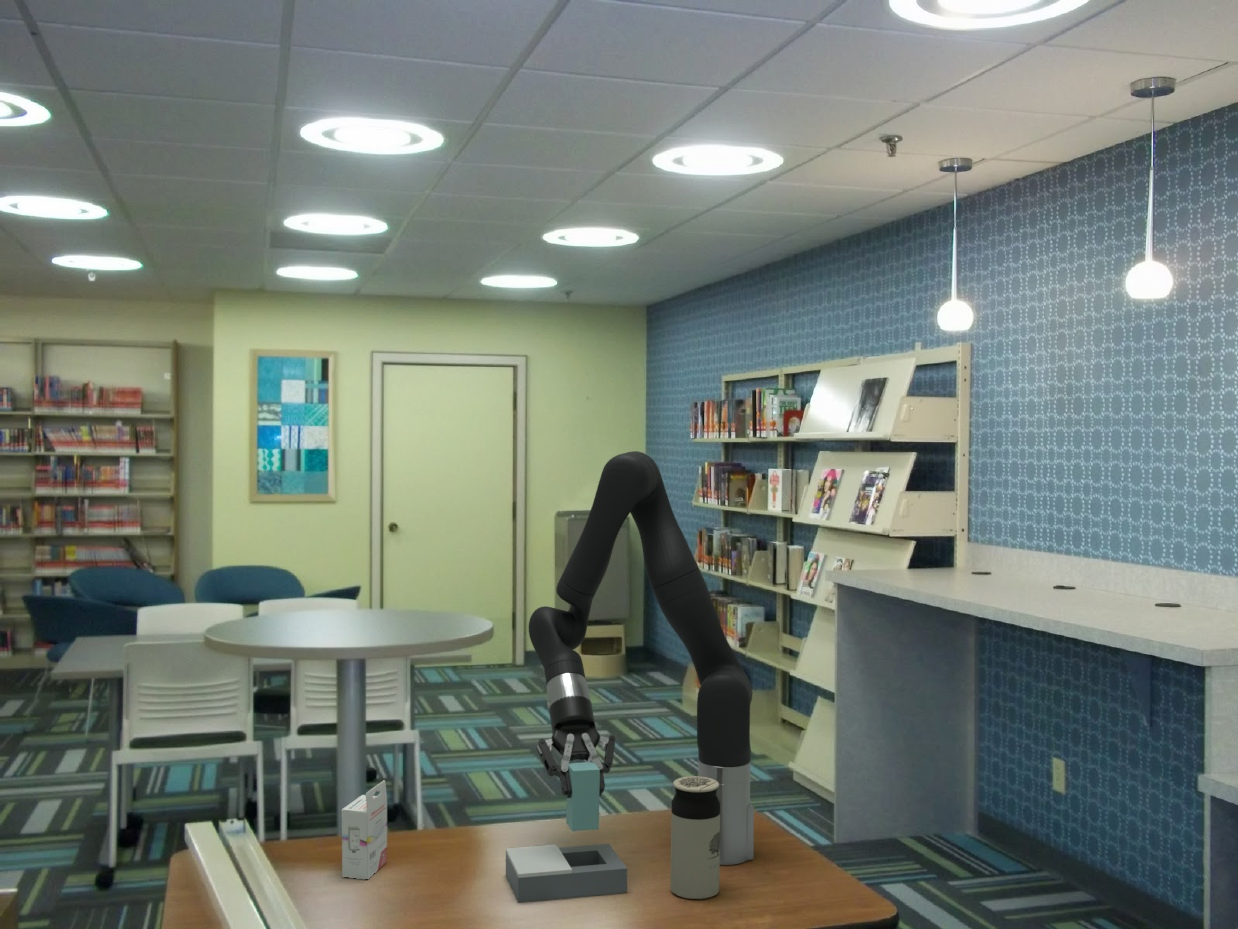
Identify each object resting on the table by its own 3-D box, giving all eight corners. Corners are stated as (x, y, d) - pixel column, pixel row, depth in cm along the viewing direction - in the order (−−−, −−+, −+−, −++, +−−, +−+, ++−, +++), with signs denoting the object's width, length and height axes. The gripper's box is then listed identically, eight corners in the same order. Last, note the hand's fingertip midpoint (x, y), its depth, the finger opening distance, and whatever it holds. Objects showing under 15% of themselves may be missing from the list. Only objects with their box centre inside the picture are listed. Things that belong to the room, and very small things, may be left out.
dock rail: (608, 866, 208) (608, 840, 208) (627, 892, 197) (627, 864, 197) (505, 875, 204) (505, 848, 204) (518, 902, 192) (518, 874, 192)
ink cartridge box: (361, 860, 210) (361, 777, 210) (387, 862, 209) (388, 779, 209) (340, 878, 202) (340, 791, 201) (367, 881, 201) (368, 793, 200)
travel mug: (660, 891, 197) (661, 782, 197) (691, 878, 203) (692, 772, 203) (698, 905, 192) (699, 793, 192) (728, 891, 198) (730, 782, 197)
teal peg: (592, 820, 204) (593, 762, 203) (598, 829, 199) (599, 769, 199) (566, 822, 202) (567, 763, 202) (572, 831, 198) (573, 771, 198)
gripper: (532, 695, 206) (545, 786, 195) (613, 692, 210) (630, 781, 199) (526, 719, 212) (538, 808, 200) (605, 715, 215) (621, 803, 204)
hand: (584, 794), depth 200 cm, fingers closed on teal peg, 4 cm apart
